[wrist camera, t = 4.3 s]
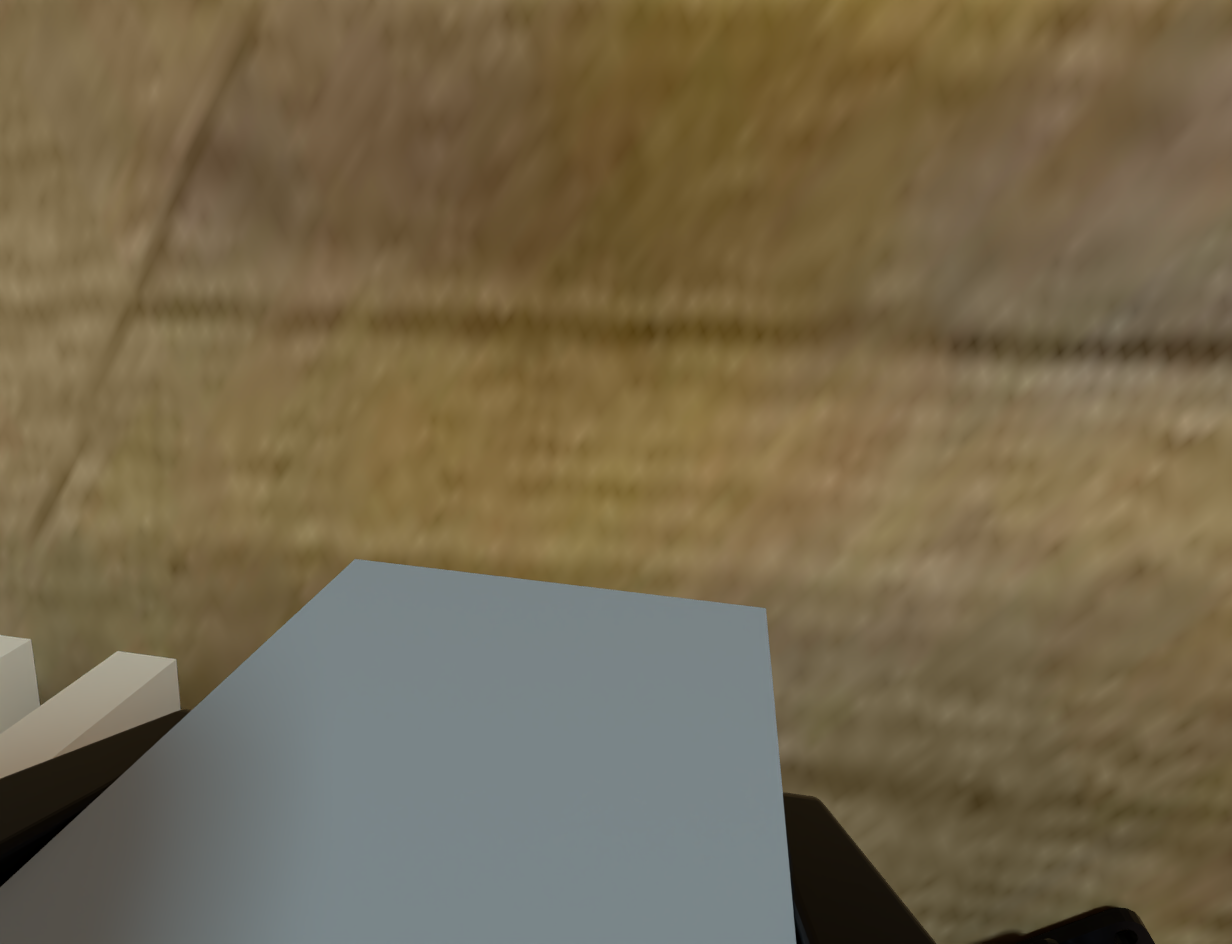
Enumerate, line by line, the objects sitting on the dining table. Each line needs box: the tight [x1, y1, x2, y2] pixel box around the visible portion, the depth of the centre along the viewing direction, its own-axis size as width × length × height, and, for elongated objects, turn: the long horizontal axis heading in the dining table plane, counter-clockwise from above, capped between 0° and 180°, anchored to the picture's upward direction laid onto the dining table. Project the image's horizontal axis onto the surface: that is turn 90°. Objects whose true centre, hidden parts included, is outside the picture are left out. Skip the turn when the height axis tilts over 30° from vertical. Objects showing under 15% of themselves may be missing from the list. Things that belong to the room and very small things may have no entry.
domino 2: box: [0, 559, 796, 944], centre depth 7 cm, size 2×5×8 cm, turn 86°
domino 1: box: [0, 651, 181, 778], centre depth 19 cm, size 2×5×8 cm, turn 176°
